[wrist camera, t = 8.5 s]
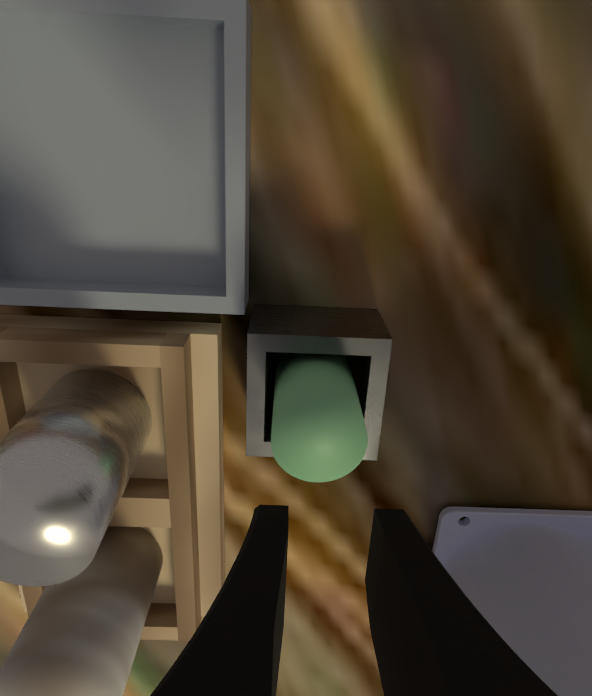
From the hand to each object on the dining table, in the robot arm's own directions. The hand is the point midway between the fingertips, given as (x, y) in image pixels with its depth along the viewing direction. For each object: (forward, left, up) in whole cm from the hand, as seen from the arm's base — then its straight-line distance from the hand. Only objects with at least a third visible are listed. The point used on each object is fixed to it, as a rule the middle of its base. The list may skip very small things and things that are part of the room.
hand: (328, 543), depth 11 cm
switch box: (0, 0, -9) cm, 9 cm away
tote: (+7, -7, -9) cm, 14 cm away
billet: (+8, +2, -8) cm, 12 cm away
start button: (0, 0, -8) cm, 8 cm away
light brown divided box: (+8, +5, -9) cm, 14 cm away
